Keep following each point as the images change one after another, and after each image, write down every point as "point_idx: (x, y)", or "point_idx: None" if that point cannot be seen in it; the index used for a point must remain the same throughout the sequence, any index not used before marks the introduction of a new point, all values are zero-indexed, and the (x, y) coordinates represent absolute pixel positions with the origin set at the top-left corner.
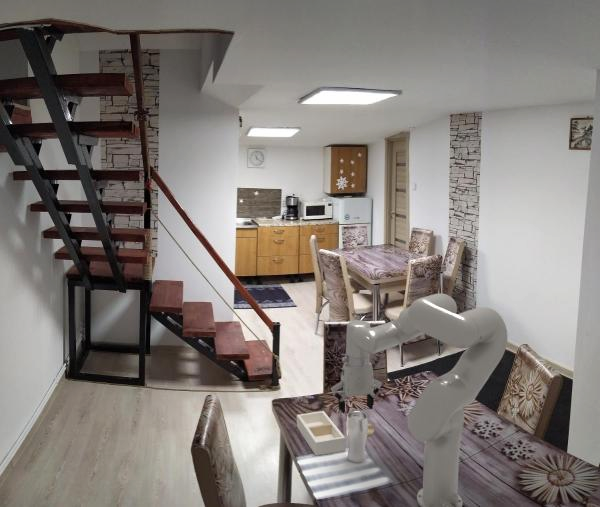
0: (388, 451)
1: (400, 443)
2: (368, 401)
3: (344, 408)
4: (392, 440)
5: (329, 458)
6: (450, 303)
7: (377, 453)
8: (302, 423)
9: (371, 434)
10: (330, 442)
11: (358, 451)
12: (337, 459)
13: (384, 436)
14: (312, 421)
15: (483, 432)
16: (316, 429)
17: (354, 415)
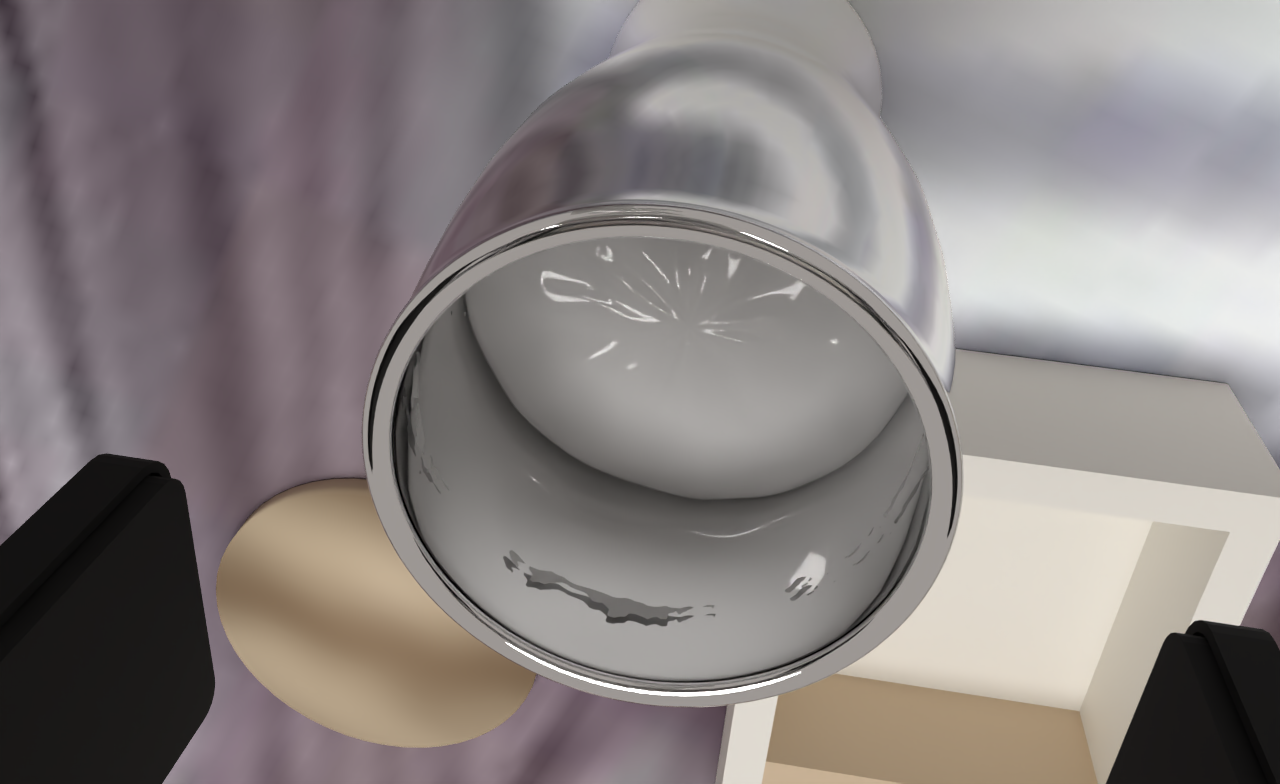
0: (230, 64)
1: (7, 174)
2: (89, 749)
3: (1277, 757)
4: (89, 279)
5: (1099, 252)
6: None
7: (399, 83)
8: None
9: (297, 488)
10: (1030, 442)
11: (771, 21)
12: (1013, 183)
13: (158, 395)
14: None
15: None
16: (988, 770)
17: (618, 606)
